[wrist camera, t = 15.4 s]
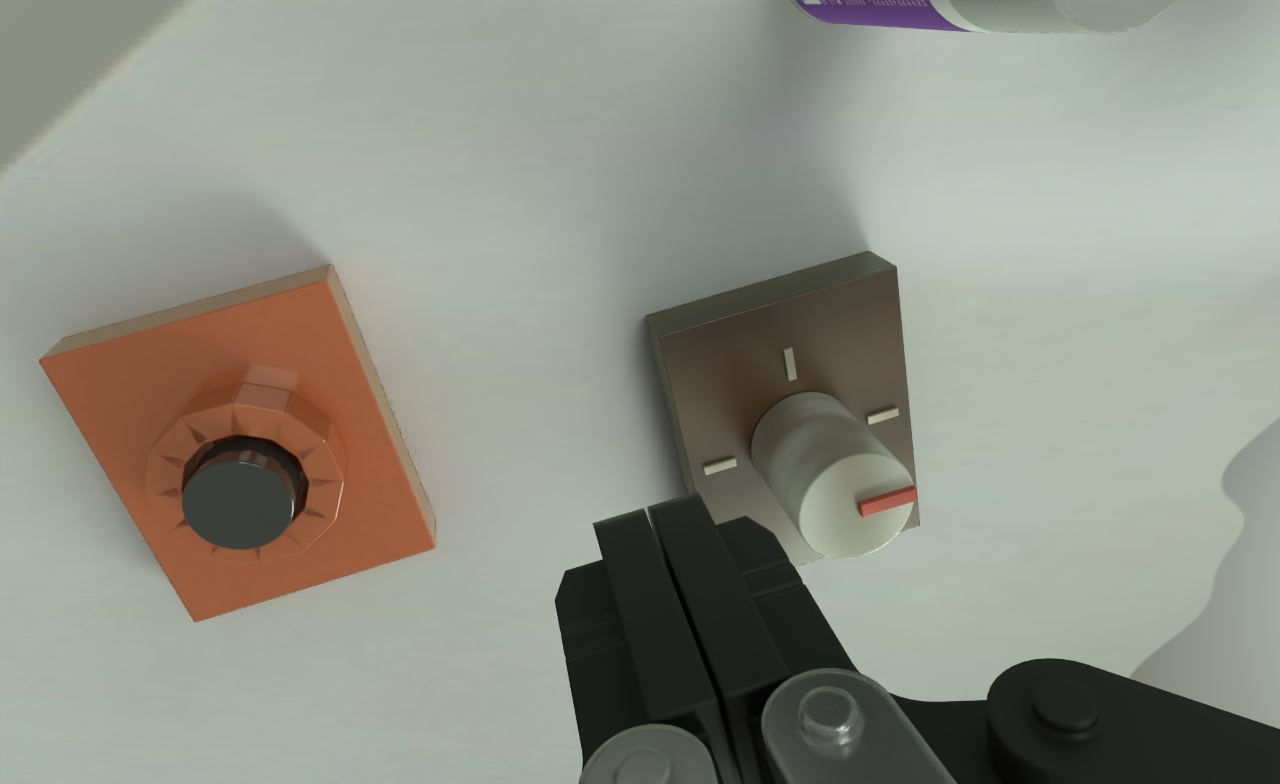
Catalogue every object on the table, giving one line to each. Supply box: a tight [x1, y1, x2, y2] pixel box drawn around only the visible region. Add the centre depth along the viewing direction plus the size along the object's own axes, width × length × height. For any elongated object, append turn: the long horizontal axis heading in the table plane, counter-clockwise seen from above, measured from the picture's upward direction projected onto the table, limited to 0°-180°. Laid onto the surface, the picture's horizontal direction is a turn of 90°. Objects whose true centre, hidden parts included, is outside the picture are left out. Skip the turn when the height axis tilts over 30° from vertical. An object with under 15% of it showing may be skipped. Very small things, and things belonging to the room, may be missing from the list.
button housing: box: [39, 264, 436, 622], centre depth 33 cm, size 12×10×4 cm
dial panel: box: [646, 251, 920, 567], centre depth 38 cm, size 13×10×3 cm
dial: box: [751, 392, 918, 559], centre depth 34 cm, size 5×5×6 cm
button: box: [182, 439, 301, 550], centre depth 31 cm, size 4×4×2 cm
